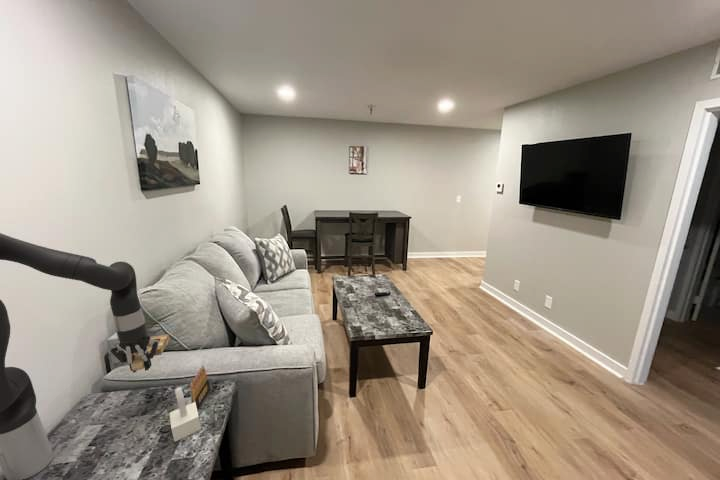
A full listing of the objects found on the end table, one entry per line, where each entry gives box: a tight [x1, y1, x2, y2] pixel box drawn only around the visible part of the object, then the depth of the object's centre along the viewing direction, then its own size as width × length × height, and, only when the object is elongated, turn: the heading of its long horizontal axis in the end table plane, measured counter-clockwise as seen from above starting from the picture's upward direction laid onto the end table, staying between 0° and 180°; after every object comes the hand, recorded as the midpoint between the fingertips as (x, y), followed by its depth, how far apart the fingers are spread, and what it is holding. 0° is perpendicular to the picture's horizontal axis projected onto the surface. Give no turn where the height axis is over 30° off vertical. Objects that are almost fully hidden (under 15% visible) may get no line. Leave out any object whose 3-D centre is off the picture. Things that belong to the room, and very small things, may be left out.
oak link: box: [131, 333, 171, 372], centre depth 105 cm, size 16×9×2 cm, turn 15°
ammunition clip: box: [189, 365, 211, 411], centre depth 115 cm, size 11×2×12 cm, turn 2°
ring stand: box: [169, 386, 202, 443], centre depth 103 cm, size 8×8×16 cm
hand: (141, 369), depth 100 cm, fingers closed on oak link, 3 cm apart
